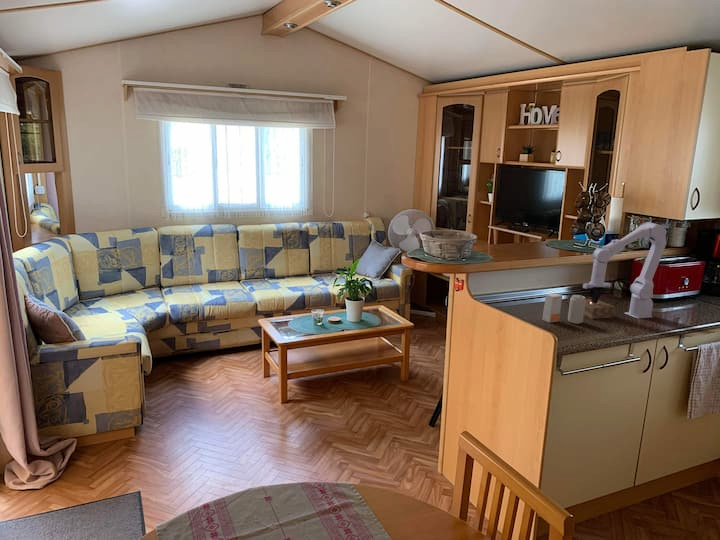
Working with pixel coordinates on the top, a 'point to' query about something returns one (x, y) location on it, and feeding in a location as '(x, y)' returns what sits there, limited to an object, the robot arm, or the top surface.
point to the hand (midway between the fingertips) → (594, 302)
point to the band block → (598, 310)
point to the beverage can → (576, 309)
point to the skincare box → (552, 308)
